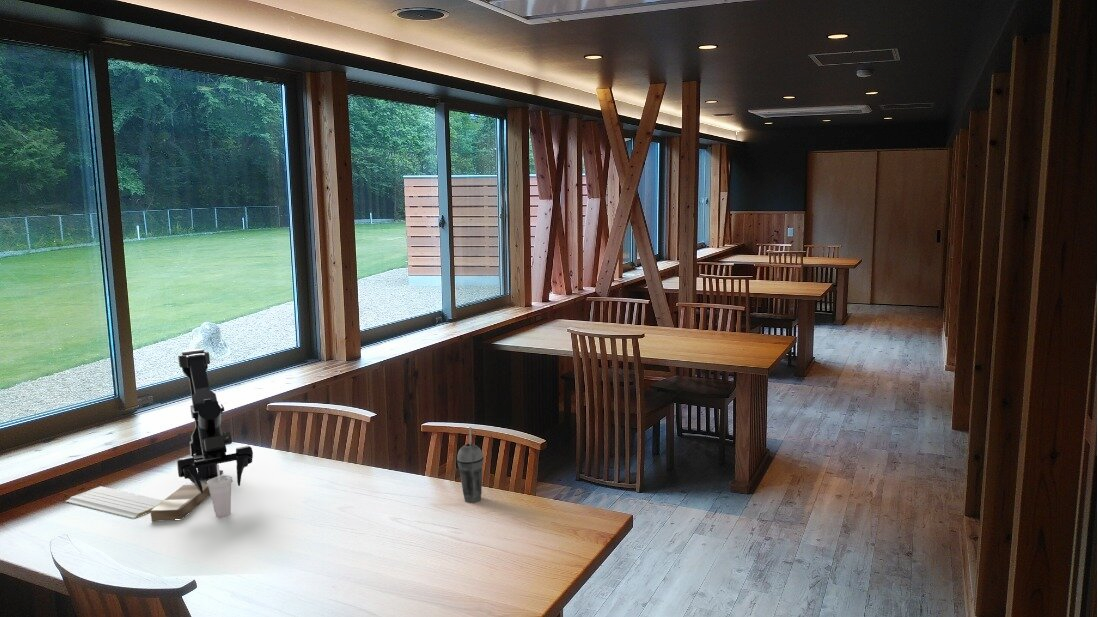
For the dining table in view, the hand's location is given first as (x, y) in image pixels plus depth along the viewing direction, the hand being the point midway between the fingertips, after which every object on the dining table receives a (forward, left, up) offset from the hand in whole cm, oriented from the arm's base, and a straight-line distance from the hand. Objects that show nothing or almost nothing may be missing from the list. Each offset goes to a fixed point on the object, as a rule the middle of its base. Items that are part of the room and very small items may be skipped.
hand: (220, 488), depth 207 cm
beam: (-7, -15, -7) cm, 18 cm away
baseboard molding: (-11, -37, -8) cm, 39 cm away
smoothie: (-1, -1, -8) cm, 8 cm away
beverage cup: (-5, +66, -8) cm, 67 cm away
